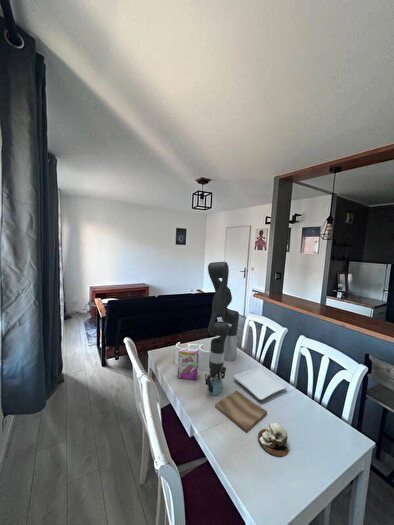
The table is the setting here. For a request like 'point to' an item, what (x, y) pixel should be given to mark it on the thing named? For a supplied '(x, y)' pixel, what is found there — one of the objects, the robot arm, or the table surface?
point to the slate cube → (216, 387)
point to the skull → (274, 439)
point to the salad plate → (259, 382)
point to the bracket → (202, 358)
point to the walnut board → (241, 410)
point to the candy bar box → (188, 363)
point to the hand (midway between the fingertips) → (214, 389)
